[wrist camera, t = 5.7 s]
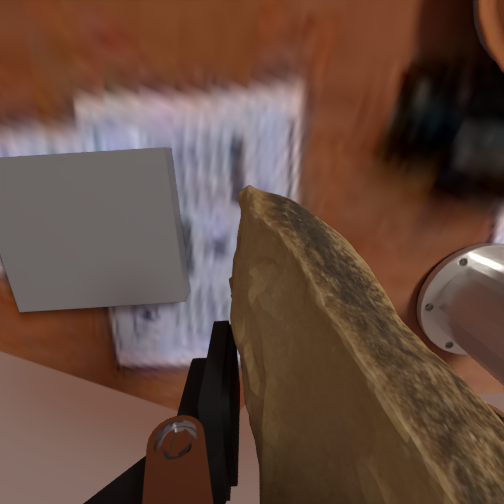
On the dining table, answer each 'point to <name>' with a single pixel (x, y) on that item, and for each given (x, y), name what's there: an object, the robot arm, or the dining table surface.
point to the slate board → (92, 229)
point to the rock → (346, 377)
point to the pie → (490, 27)
